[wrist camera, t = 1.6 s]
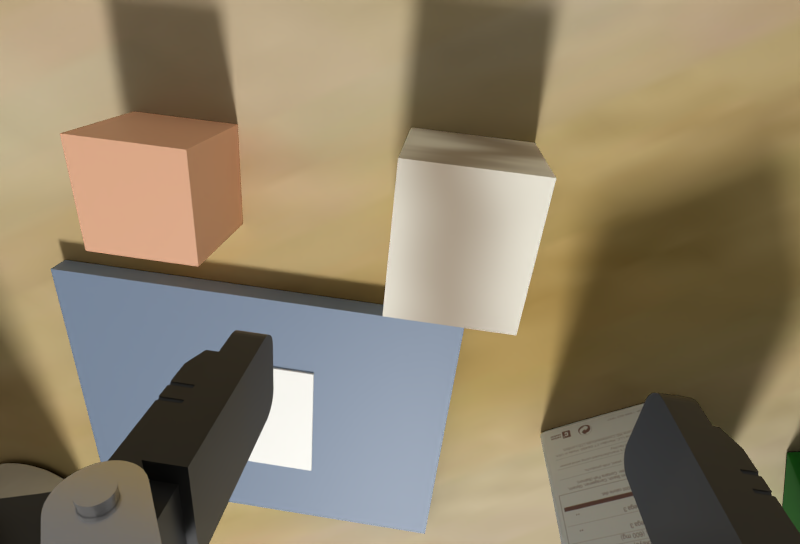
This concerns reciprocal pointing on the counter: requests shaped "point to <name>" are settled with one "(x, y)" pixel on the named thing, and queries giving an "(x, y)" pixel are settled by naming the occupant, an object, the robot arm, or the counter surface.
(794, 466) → the milk carton
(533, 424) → the counter surface
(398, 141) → the counter surface
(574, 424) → the supplement box
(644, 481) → the robot arm
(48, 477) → the travel mug
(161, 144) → the terracotta cube
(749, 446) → the counter surface
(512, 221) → the cream block
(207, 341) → the blue board
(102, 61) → the counter surface
